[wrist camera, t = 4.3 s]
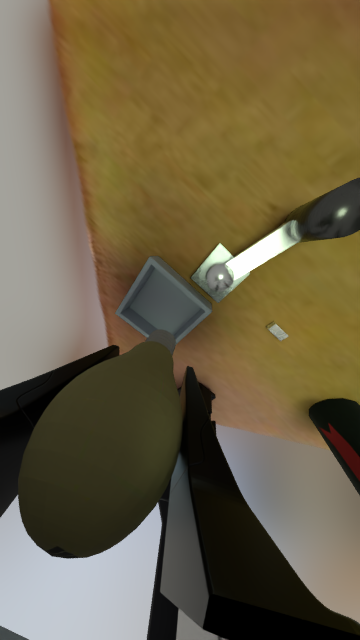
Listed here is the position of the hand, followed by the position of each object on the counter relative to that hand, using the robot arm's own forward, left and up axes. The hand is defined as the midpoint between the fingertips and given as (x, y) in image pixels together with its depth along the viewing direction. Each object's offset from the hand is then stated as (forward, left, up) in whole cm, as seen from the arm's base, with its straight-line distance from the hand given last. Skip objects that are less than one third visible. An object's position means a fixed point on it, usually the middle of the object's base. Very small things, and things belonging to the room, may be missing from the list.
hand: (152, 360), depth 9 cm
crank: (+11, -2, -11) cm, 15 cm away
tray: (-2, +2, -12) cm, 13 cm away
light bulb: (0, 0, -3) cm, 3 cm away
